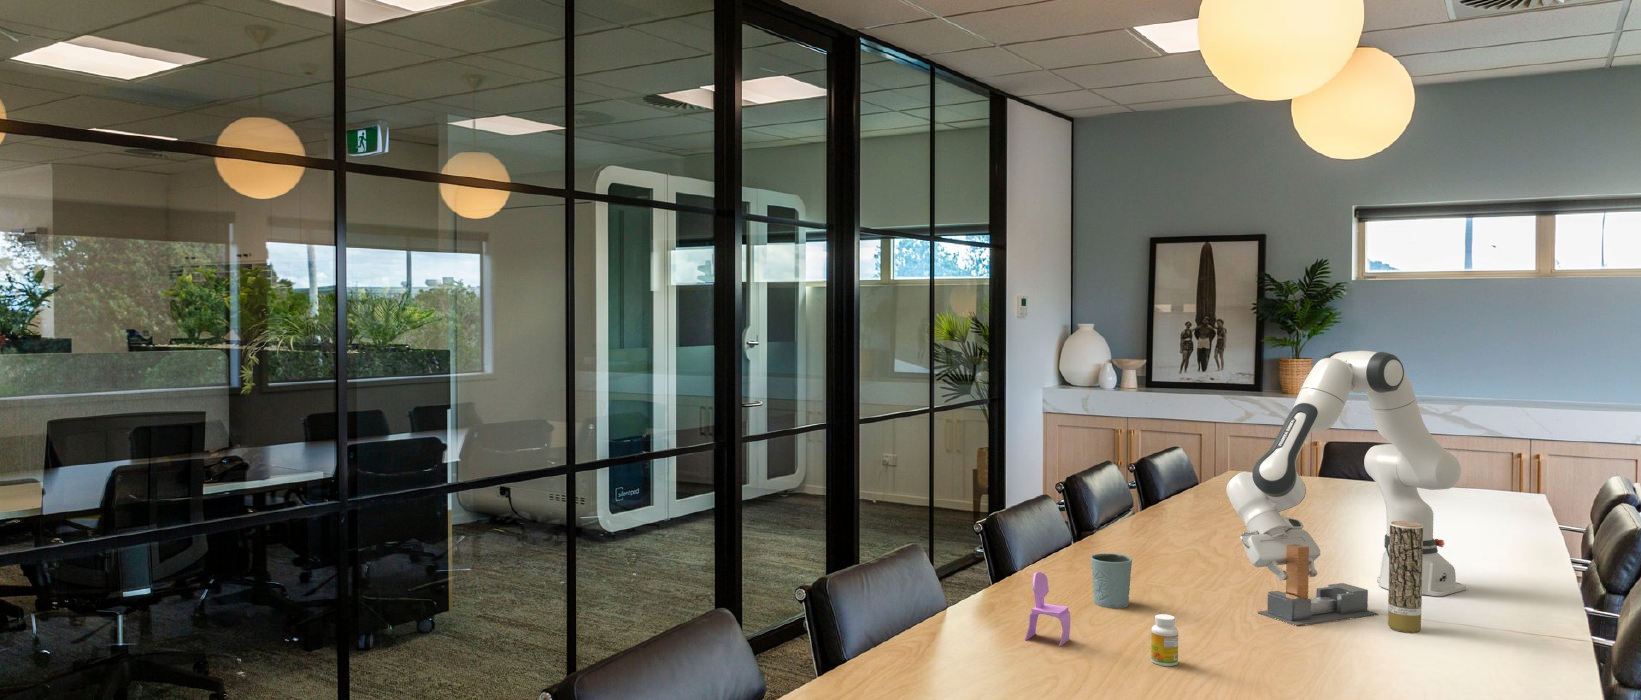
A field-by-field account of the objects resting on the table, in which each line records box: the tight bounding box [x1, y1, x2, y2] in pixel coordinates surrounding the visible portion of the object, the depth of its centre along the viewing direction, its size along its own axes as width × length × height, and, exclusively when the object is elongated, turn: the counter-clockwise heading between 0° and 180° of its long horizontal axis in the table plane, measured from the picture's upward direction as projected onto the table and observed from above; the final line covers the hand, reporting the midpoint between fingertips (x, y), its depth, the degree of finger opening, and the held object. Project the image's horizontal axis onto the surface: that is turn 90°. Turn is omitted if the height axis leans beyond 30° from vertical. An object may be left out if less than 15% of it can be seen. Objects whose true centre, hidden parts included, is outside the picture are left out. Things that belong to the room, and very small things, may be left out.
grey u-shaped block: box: [1315, 582, 1369, 615], centre depth 258 cm, size 9×7×5 cm
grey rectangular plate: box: [1257, 609, 1379, 627], centre depth 255 cm, size 27×12×1 cm, turn 112°
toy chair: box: [1024, 571, 1071, 648], centre depth 232 cm, size 8×9×15 cm
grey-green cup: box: [1090, 552, 1133, 609], centre depth 263 cm, size 10×10×12 cm
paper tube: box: [1387, 521, 1423, 634], centre depth 242 cm, size 7×7×25 cm
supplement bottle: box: [1150, 613, 1179, 667], centre depth 217 cm, size 5×5×10 cm
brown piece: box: [1285, 544, 1337, 615], centre depth 253 cm, size 15×4×17 cm, turn 112°
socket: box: [1267, 590, 1311, 622], centre depth 251 cm, size 6×7×5 cm
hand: (1299, 577), depth 251 cm, fingers open, 8 cm apart
